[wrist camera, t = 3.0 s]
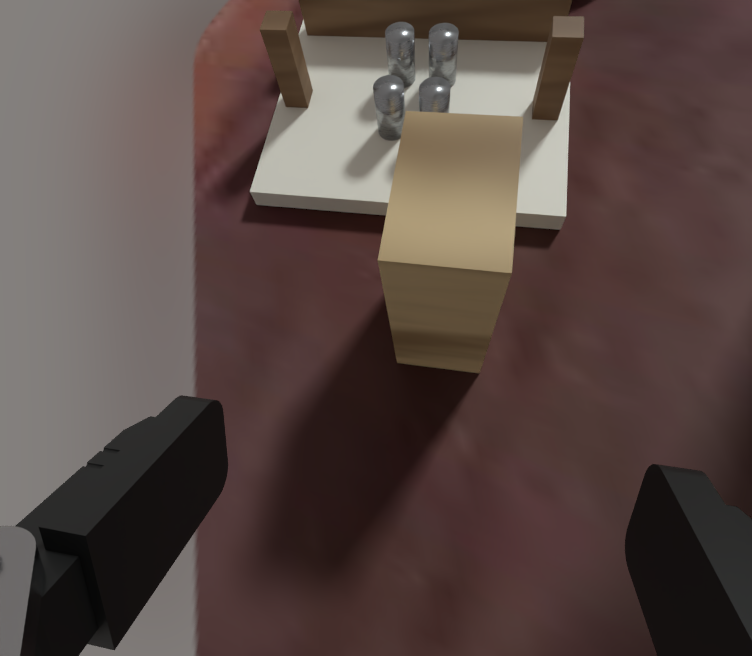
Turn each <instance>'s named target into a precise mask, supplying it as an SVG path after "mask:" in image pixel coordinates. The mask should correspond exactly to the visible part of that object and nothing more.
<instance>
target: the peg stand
mask: <svg viewBox="0 0 752 656" xmlns="http://www.w3.org/2000/svg"><path fill="white" fill-rule="evenodd" d="M299 39H300V43H301V47H302V50H303V54H304V58H305V62H306V66H307V69H308V73H309V77H310V81H311V85H312V89H313V93H312V96H311V100H310V103H309V107H308V108H297V107H286V106H285V103H284V100H283V97H282V94H281V93H280V96H279V100H278V103H277V106H276V109H275V112H274V116H273V119H272V122H271V125H270V128H269V132H268V135H267V138H266V141H265V144H264V148H263V151H262V154H261V157H260V160H259V164H258V167H257V170H256V173H255V176H254V180H253V183H252V186H251V189H250V193H251V195H252V197H253V199H254V201H255V203H256V205H264V206H277V207H289V208H301V209H313V210H325V211H337V212H350V213H362V214H374V215H386V214H387V208H388V203H389V197H390V192H391V187H392V181H393V176H394V171H395V165H396V160H397V155H398V149H399V144H400V139H401V138H400V139H397V140H393V141H389V140H385V139H383V138H382V137H381V136H380V135H379V132H378V125H377V117H376V109H375V101H374V93H373V84H374V82H375V81H376V80H377V79H378V78H380V77H382V76H385V75H389V73H388V62H387V50H386V39H385V38H379V37H342V36H307V32H306V28H305V24H304V19H303V23H302V26H301V29H300V32H299ZM546 44H547V42H527V41H490V40H458V52H457V68H456V82H455V84H454V85H453V86H452V87H451V88H450V108H449V113H458V114H479V115H499V116H519V117H523V128H522V141H521V155H520V168H519V182H518V196H517V209H516V223H515V226H520V227H532V228H544V229H556V230H560V229H561V227H562V225H563V222H564V220H565V218H566V203H567V169H568V136H569V103H570V83H569V86H568V89H567V93H566V96H565V99H564V102H563V105H562V108H561V112H560V115H559V118H558V121H556V120H536V119H532V107H533V98H534V94H535V90H536V86H537V82H538V77H539V73H540V69H541V65H542V61H543V57H544V53H545V49H546ZM415 73H416V79H415V81H414V83H413V84H412V85H411V86H409V87H406V88H404V99H405V112H406V111H418V112H419V86H420V84H421V83H422V82H423V81H424V80H425V79H427V78H429V39H416V38H415Z"/></svg>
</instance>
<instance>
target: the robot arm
mask: <svg viewBox="0 0 752 656" xmlns="http://www.w3.org/2000/svg"><path fill="white" fill-rule="evenodd" d="M227 471H228V458H227V447H226V436H225V426H224V415H223V408H222V405H221V403H220V402H219V401H217V400H210V399H203V398H196V397H188V396H179V397H177V398H176V399H175V400H174V401H172V402H171V403H170V404H169V405H168V406H167V407H166V408H165V409H164V410H163V411H162V412H161V413H160V414H159V415H157V416H156V417H148V418H147V419H144V420H142V421H141V422H139V423H137V424H135V425H133V426H131V427H129V428H127V429H125V430H123V431H122V432H121V433H120V434H119V435H118V436H117V437H115V438H114V439H113V440H112V441H111V442H110V443H109V444H107V445H106V446H105V447H104V451H103V452H102V451H100V452H99V453H97V454H96V455H95V456H94V457H93V458H92V459H91V460H89V461H88V462H87V466H86V467H84V466H83V467H82V468H80V469H79V470H78V471H77V472H76V473H75V474H74V475H72V476H71V477H70V478H69V479H68V480H67V481H66V482H65V483H63V484H62V485H61V486H60V487H59V488H58V489H57V490H56V491H55V492H53V493H52V494H51V495H50V496H49V497H48V498H46V500H44V501H43V502H42V503H41V504H40V505H39V506H37V507H36V508H35V509H34V510H33V511H32V512H31V513H30V514H29V515H27V516H26V517H25V518H24V519H23V520H22V521H21V522H19V523H18V524H17V525H16V526H0V656H79V654H80V653H81V652H82V650H83V649H84V647H85V646H86V645H87V644H91V645H94V646H99V647H103V648H107V649H112V650H115V648H116V647H117V646H118V644H119V643H120V641H121V640H122V638H123V637H124V635H125V634H126V632H127V631H128V629H129V628H130V626H131V625H132V623H133V622H134V621H135V619H136V618H137V616H138V614H139V613H140V611H141V610H142V609H143V607H144V606H145V604H146V603H147V601H148V600H149V598H150V597H151V596H152V594H153V593H154V591H155V590H156V588H157V587H158V585H159V583H160V582H161V581H162V579H163V578H164V576H165V575H166V573H167V572H168V571H169V569H170V568H171V566H172V565H173V563H174V562H175V560H176V559H177V557H178V556H179V554H180V553H181V551H182V550H183V548H184V547H185V545H186V544H187V542H188V541H189V540H190V538H191V537H192V535H193V534H194V532H195V531H196V529H197V528H198V526H199V525H200V523H201V522H202V520H203V519H204V518H205V516H206V515H207V513H208V512H209V510H210V509H211V507H212V506H213V504H214V503H215V501H216V500H217V498H218V497H219V495H220V494H221V492H222V490H223V487H224V484H225V481H226V477H227ZM625 554H626V562H627V566H628V570H629V573H630V576H631V579H632V582H633V584H634V587H635V590H636V593H637V596H638V599H639V602H640V605H641V608H642V611H643V614H644V617H645V620H646V623H647V626H648V629H649V632H650V635H651V638H652V641H653V644H654V646H655V649H656V652H657V655H658V656H752V519H751V518H750V517H748V516H747V515H746V514H745V513H744V512H743V511H741V510H740V509H739V508H738V507H735V506H729V505H725V503H724V502H723V500H722V499H721V497H720V495H719V494H718V492H717V491H716V489H715V488H714V486H713V485H712V483H711V482H710V480H709V478H708V477H707V476H706V474H704V473H703V472H702V471H698V470H691V469H684V468H677V467H670V466H663V465H656V464H653V465H651V466H649V468H648V469H647V471H646V473H645V476H644V479H643V482H642V485H641V488H640V491H639V494H638V497H637V500H636V503H635V506H634V510H633V513H632V516H631V519H630V522H629V525H628V528H627V532H626V539H625Z"/></svg>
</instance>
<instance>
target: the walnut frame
mask: <svg viewBox="0 0 752 656" xmlns="http://www.w3.org/2000/svg"><path fill="white" fill-rule="evenodd" d="M299 3H300V7H301V11H302V15H303V19H304V24H305V28H306V32H307V36H342V37H379V38H385V31H386V29H387V27H388V26H390V25H391V24H393V23H396V22H406V23H409V24H411V25H412V26H413V28H414V38H416V39H429V31H430V29H431V28H432V27H433V26H435V25H437V24H439V23H450V24H453V25H455V26H456V27H457V28H458V31H459V35H458V40H490V41H527V42H547V44H546V49H545V53H544V57H543V61H542V65H541V69H540V73H539V77H538V82H537V86H536V90H535V94H534V98H533V107H532V119H536V120H556V121H558V118H559V115H560V112H561V108H562V105H563V102H564V99H565V96H566V93H567V89H568V86H569V83H570V80H571V77H572V73H573V70H574V67H575V64H576V61H577V58H578V54H579V51H580V48H581V45H582V42H583V38H584V17H569V16H568V14H569V11H570V7H571V3H572V0H299ZM260 32H261V35H262V37H263V40H264V43H265V46H266V49H267V52H268V55H269V58H270V61H271V64H272V67H273V70H274V73H275V76H276V79H277V82H278V85H279V88H280V91H281V94H282V97H283V100H284V103H285V106H286V107H297V108H308V107H309V103H310V100H311V96H312V93H313V89H312V85H311V81H310V77H309V73H308V69H307V66H306V62H305V58H304V54H303V50H302V47H301V43H300V39H299V35H298V31H297V27H296V24H295V20H294V16H293V12H292V11H266V13H265V16H264V19H263V22H262V25H261V28H260Z"/></svg>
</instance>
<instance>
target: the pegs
mask: <svg viewBox="0 0 752 656" xmlns="http://www.w3.org/2000/svg"><path fill="white" fill-rule="evenodd" d="M458 35H459V31H458V28H457V27H456V26H455V25H453V24H450V23H439V24H437V25H435V26H433V27H432V28H431V29H430V31H429V78H427V79H425V80H424V81H423V82H422V83H421V84H420V86H419V112H438V113H449V108H450V88H451V87H452V86H453V85H454V84H455V82H456V68H457V52H458ZM385 39H386V50H387V62H388V73H389V75H385V76H382V77H380V78H378V79H377V80H376V81H375V82H374V84H373V93H374V101H375V109H376V117H377V125H378V132H379V135H380V136H381V137H382V138H383V139H385V140H389V141H393V140H397V139H400V138H401V133H402V128H403V122H404V117H405V99H404V88H406V87H409V86H411V85H412V84H413V83H414V81H415V79H416V73H415V38H414V28H413V26H412V25H411V24H409V23H406V22H396V23H393V24H391V25H390V26H388V27H387V29H386V31H385Z"/></svg>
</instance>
